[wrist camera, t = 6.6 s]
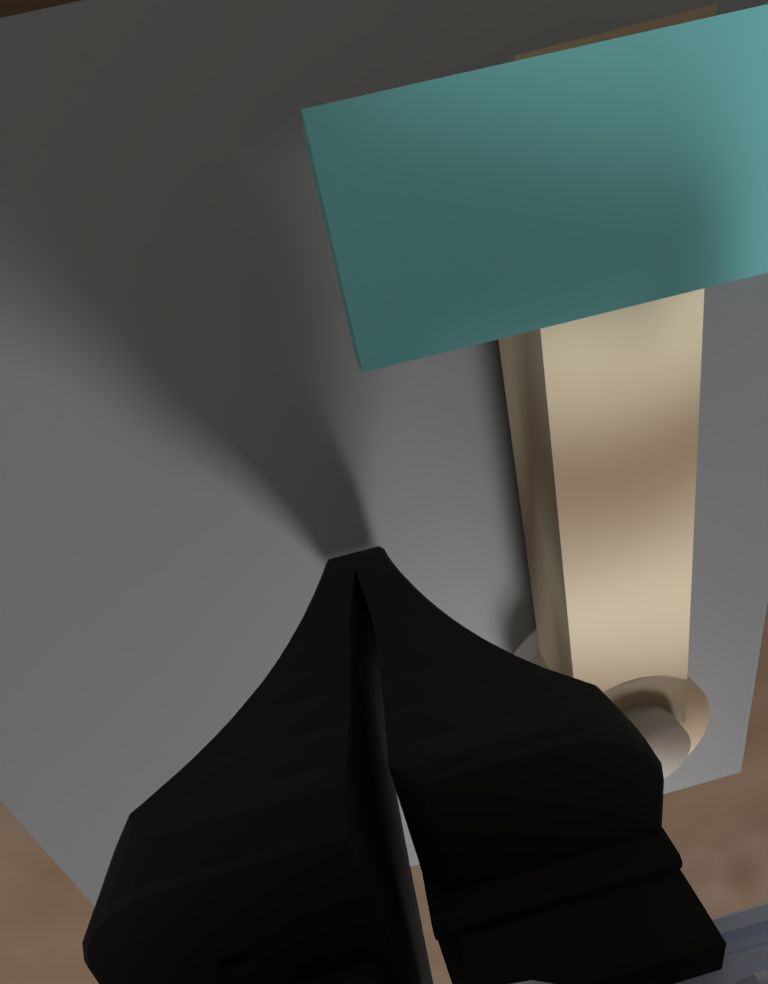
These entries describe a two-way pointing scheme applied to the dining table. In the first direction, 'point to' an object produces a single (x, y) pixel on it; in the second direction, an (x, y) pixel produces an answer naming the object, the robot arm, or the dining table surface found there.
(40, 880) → the dining table surface
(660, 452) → the beech link
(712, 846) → the dining table surface
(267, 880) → the robot arm
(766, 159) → the plate
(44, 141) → the light grey baseplate
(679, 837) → the dining table surface
